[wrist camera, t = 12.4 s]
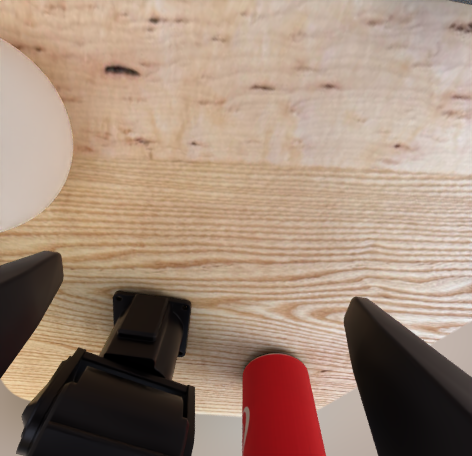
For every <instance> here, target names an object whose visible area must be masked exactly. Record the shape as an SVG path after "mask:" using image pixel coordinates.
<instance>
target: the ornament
mask: <svg viewBox="0 0 472 456" xmlns="http://www.w3.org/2000/svg"><path fill="white" fill-rule="evenodd" d="M72 157H73V135H72V128H71V124H70V120H69V117H68V114H67V111H66V108H65V106H64V104H63V102H62V99H61V98H60V96H59V94H58V92H57V90H56V89H55V87H54V86H53V84H52V83H51V81H50V80H49V79H48V77H47V76H46V75H45V74H44V73H43V72H42V70H41V69H40V68H39V67H38V66H37V65H36V64H35V63H34V62H33V61H32V60H30V59H29V58H28V57H27V56H26V55H25V54H23V53H22V52H21V51H19V50H18V49H17V48H15V47H14V46H12V45H11V44H9V43H8V42H6V41H5V40H3V39H1V38H0V232H3V231H7V230H9V229H12V228H15V227H17V226H19V225H22V224H24V223H26V222H28V221H29V220H31V219H33V218H34V217H36V216H37V215H39V214H40V213H41V212H42V211H44V210H45V209H46V208H47V207H48V206H49V205H50V204H51V203H52V202H53V201H54V199H55V198H56V197H57V195H58V194H59V192H60V191H61V189H62V187H63V186H64V184H65V182H66V179H67V177H68V174H69V171H70V167H71V163H72Z"/></svg>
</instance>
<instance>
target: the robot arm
mask: <svg viewBox="0 0 472 456" xmlns="http://www.w3.org/2000/svg"><path fill="white" fill-rule="evenodd" d="M63 277H64V274H63V265H62V257H61V254H60V253H58V252H51V251H43V252H40V253H37V254H34V255H31V256H28V257H25V258H22V259H19V260H16V261H13V262H10V263H7V264H4V265H1V266H0V378H1V377H2V376H3V374H4V373H5V371H6V370H7V369H8V367H9V366H10V364H11V363H12V362H13V360H14V359H15V357H16V356H17V355H18V353H19V352H20V350H21V349H22V348H23V346H24V345H25V343H26V342H27V341H28V339H29V338H30V336H31V335H32V334H33V332H34V331H35V329H36V328H37V326H38V325H39V323H40V321H41V320H42V318H43V316H44V314H45V312H46V311H47V309H48V307H49V305H50V304H51V302H52V300H53V298H54V296H55V295H56V293H57V291H58V289H59V288H60V286H61V284H62V282H63ZM118 296H119V297H121V298H119V297H118ZM184 306H187V307H184ZM190 313H191V303H190V302H189V301H187V300H181V299H174V298H167V297H160V296H153V295H146V294H138V293H131V292H124V291H117V292H116V293H115V294H114V296H113V315H114V328H113V330H112V332H111V334H110V335H109V337H108V339H107V341H106V343H105V345H104V347H103V349H102V351H101V353H100V355H99V356H98V355H95V354H92V353H89V352H86V350H85V349H82V348H78V349H77V350H76V352H75V353H74V355H73V356H69V358H68V359H67V360H65V361H62V363H61V364H60V366H59V367H58V369H57V370H56V372H55V374H54V375H53V377H52V378H51V380H50V381H49V382H48V384H47V385H46V386H45V387H44V388H43V389H42V390H41V391H40V392H39V393H38V395H37V396H36V397H35V398H34V399H33V400H32V401H31V402H30V403H29V404H28V405H27V407H26V408H25V410H24V412H23V414H22V420H23V424H24V430H23V432H22V435H21V438H22V439H21V441H20V443H19V446H18V448H17V452H16V454H20V455H23V456H191V454H192V449H193V444H194V434H195V387H193V386H190V385H187V386H186V385H183V384H180V383H177V382H174V381H172V377H173V373H174V369H175V365H176V360H177V357H183V356H185V353H186V347H187V338H188V330H189V321H190ZM344 327H345V332H346V338H347V343H348V349H349V354H350V359H351V364H352V369H353V373H354V376H355V380H356V383H357V386H358V390H359V393H360V396H361V400H362V403H363V406H364V410H365V413H366V416H367V420H368V423H369V426H370V429H371V433H372V436H373V440H374V442H375V446H376V449H377V453H378V456H472V377H471V376H469V375H468V374H467V373H465V372H464V371H463V370H461V369H460V368H459V367H457V366H456V365H455V364H453V363H452V362H451V361H449V360H448V359H447V358H445V357H444V356H443V355H441V354H440V353H439V352H437V351H436V350H435V349H434V348H432V347H431V346H430V345H428V344H427V343H426V342H424V341H423V340H422V339H420V338H419V337H418V336H416V335H415V334H414V333H412V332H411V331H410V330H408V329H407V328H406V327H404V326H403V325H402V324H401V323H399V322H398V321H397V320H395V319H394V318H393V317H391V316H390V315H389V314H387V313H386V312H385V311H383V310H382V309H381V308H379V307H378V306H377V305H375V304H374V303H373V302H371V301H370V300H369V299H367V298H362V297H354V298H353V299H352V300H351V302H350V304H349V307H348V309H347V312H346V314H345V317H344Z"/></svg>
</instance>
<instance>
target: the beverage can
mask: <svg viewBox="0 0 472 456" xmlns="http://www.w3.org/2000/svg"><path fill="white" fill-rule="evenodd" d="M242 418H243V419H242V423H243V425H242V456H326V454H325V449H324V444H323V440H322V435H321V430H320V426H319V421H318V417H317V413H316V407H315V403H314V398H313V393H312V389H311V384H310V380H309V375H308V371H307V368H306V367H305V365H304V364H303V363H302V362H301V361H300V360H298V359H297V358H295V357H292V356H290V355H286V354H280V353H271V354H266V355H262V356H259V357H257V358H255V359H254V360H252V361H251V362H250V363H249V364H248V365H247V366H246V367H245V369H244V372H243V407H242Z"/></svg>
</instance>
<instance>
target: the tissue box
mask: <svg viewBox="0 0 472 456" xmlns="http://www.w3.org/2000/svg"><path fill="white" fill-rule="evenodd" d="M451 1H456V2H461V3H466V4H471V5H472V0H451Z"/></svg>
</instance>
